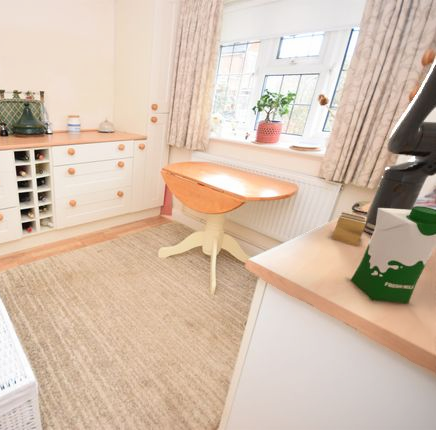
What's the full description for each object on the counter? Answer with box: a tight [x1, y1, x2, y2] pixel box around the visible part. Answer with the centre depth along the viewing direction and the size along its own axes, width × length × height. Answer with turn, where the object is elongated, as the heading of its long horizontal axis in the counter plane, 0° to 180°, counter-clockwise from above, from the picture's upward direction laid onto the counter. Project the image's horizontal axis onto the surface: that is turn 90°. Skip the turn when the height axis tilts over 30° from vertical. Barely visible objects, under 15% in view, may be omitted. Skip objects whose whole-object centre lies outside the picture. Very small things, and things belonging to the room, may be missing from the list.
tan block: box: [331, 211, 368, 247], centre depth 85 cm, size 6×6×7 cm
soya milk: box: [350, 205, 436, 304], centre depth 59 cm, size 9×9×20 cm
